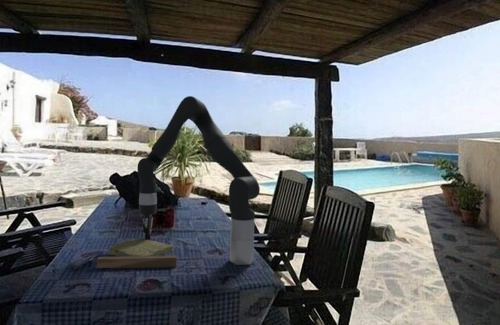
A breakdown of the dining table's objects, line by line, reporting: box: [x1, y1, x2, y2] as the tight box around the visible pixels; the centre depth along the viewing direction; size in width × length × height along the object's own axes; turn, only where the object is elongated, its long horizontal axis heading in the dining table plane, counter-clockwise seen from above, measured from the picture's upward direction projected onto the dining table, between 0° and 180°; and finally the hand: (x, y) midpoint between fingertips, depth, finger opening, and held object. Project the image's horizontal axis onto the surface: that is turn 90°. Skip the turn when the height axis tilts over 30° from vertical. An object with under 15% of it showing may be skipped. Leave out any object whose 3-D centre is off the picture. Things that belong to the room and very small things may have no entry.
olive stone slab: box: [107, 237, 174, 257], centre depth 153 cm, size 19×20×4 cm
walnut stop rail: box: [96, 255, 178, 270], centre depth 137 cm, size 2×28×4 cm, turn 99°
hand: (147, 241), depth 165 cm, fingers closed
